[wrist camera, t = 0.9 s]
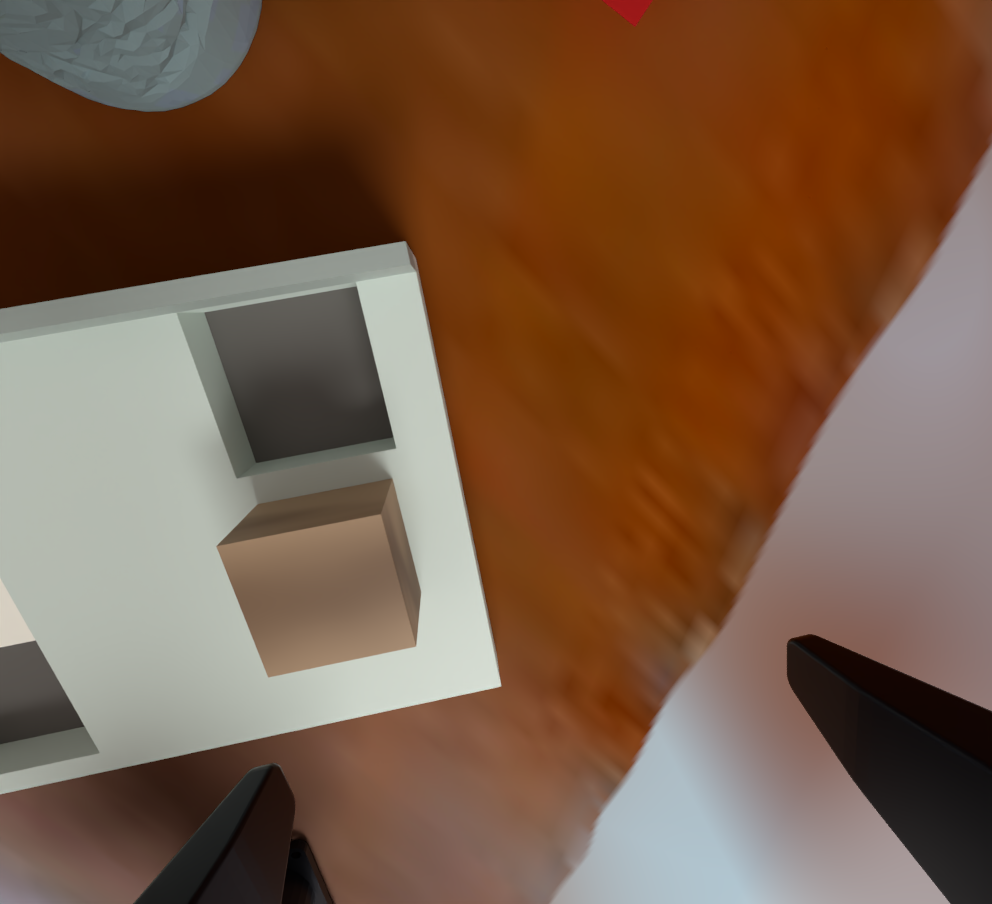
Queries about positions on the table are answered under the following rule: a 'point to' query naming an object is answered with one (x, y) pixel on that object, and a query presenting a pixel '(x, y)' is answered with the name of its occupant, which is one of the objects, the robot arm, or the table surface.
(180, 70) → the grey cup
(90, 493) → the tray
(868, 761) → the robot arm
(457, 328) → the table surface
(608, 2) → the puzzle toy
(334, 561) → the block
